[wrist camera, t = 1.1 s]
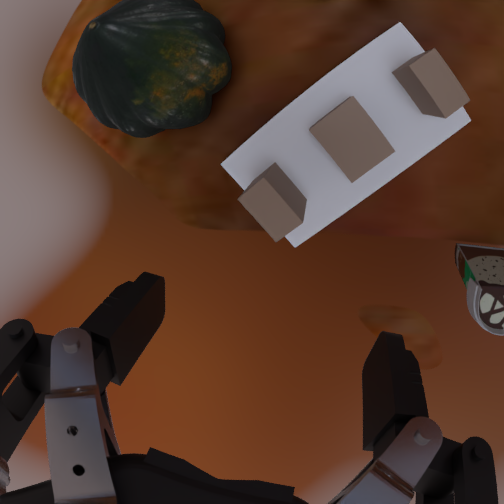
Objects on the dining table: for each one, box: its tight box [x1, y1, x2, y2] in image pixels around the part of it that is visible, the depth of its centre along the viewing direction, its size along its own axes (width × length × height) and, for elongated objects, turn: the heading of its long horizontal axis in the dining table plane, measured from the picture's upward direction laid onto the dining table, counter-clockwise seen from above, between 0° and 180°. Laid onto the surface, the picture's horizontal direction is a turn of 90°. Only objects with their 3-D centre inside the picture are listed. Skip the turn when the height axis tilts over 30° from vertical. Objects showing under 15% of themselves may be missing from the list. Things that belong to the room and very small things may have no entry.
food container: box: [455, 243, 504, 335], centre depth 28 cm, size 12×6×10 cm, turn 91°
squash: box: [72, 0, 232, 138], centre depth 24 cm, size 14×15×15 cm
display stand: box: [221, 22, 471, 247], centre depth 26 cm, size 24×12×8 cm, turn 132°
